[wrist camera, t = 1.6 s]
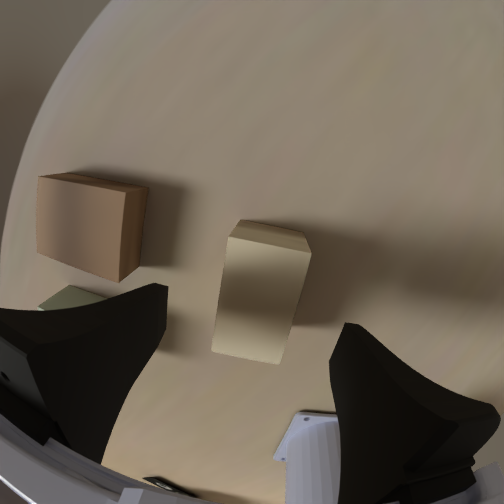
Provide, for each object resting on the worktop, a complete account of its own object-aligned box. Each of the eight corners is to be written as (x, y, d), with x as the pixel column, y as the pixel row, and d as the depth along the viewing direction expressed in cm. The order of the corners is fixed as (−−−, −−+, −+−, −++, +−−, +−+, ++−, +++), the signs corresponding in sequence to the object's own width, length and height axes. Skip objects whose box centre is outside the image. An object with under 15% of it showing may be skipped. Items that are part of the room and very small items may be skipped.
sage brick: (134, 306, 18) (105, 337, 14) (135, 345, 19) (111, 378, 15) (70, 284, 18) (37, 306, 14) (74, 321, 19) (46, 346, 15)
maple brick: (240, 219, 15) (228, 236, 12) (303, 232, 15) (311, 253, 11) (224, 313, 17) (211, 351, 13) (279, 324, 17) (279, 364, 13)
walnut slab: (150, 187, 15) (125, 192, 13) (141, 264, 17) (118, 282, 14) (67, 172, 15) (38, 176, 13) (63, 240, 17) (37, 252, 14)
